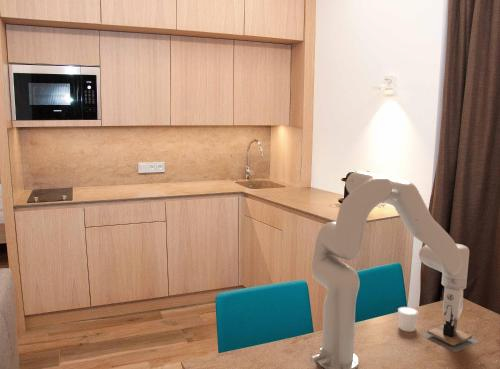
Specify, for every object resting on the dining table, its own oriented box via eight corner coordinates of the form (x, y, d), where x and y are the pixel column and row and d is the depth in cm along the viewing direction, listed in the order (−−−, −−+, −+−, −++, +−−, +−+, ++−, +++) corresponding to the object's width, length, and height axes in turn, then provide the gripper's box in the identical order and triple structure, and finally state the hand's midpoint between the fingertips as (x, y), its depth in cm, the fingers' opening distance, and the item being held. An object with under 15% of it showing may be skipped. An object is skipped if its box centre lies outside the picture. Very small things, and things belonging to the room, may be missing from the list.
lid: (453, 345, 147) (455, 328, 146) (427, 333, 156) (428, 317, 155) (471, 338, 153) (473, 321, 152) (445, 326, 161) (446, 310, 160)
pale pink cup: (419, 333, 159) (421, 314, 158) (400, 333, 159) (401, 314, 158) (413, 324, 166) (414, 306, 164) (394, 324, 166) (395, 306, 165)
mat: (455, 353, 146) (455, 352, 146) (421, 336, 157) (421, 335, 156) (479, 342, 152) (479, 341, 152) (444, 327, 163) (445, 326, 163)
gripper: (462, 291, 142) (457, 346, 145) (470, 276, 156) (465, 326, 159) (437, 286, 146) (432, 339, 149) (446, 272, 160) (442, 321, 163)
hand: (449, 332), depth 154 cm, fingers closed on lid, 4 cm apart
